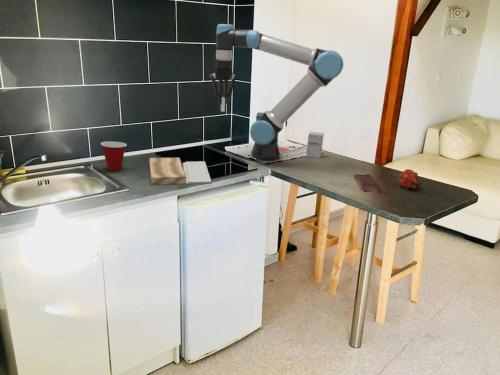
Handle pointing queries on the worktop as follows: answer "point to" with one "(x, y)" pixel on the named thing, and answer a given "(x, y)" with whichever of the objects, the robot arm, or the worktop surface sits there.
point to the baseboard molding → (196, 172)
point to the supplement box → (314, 144)
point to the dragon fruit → (409, 179)
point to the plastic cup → (114, 154)
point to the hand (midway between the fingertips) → (222, 111)
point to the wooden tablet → (369, 183)
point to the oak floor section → (167, 171)
